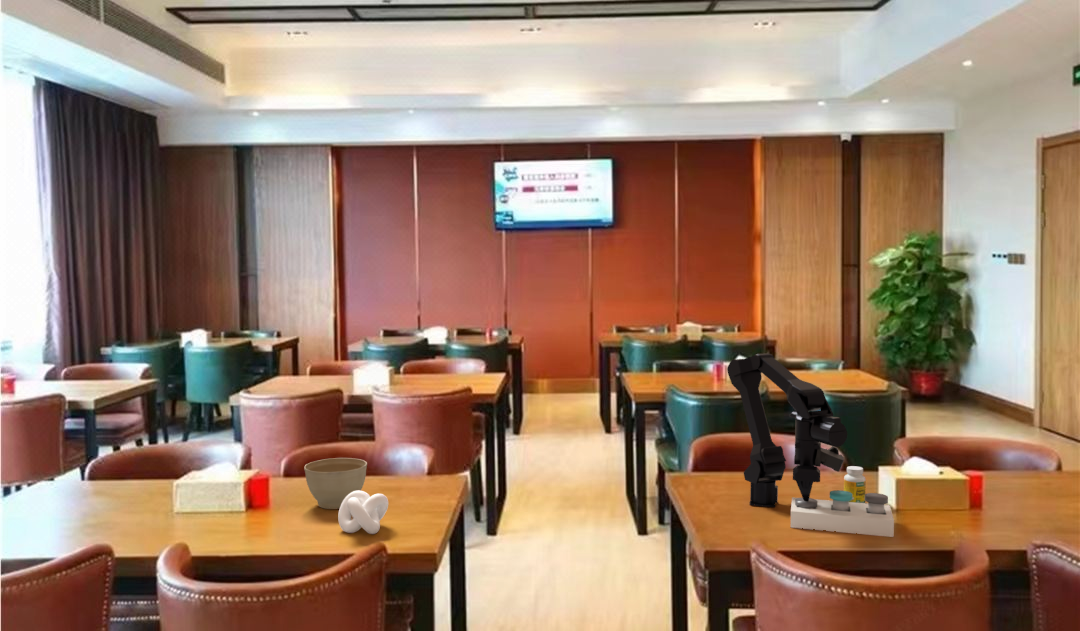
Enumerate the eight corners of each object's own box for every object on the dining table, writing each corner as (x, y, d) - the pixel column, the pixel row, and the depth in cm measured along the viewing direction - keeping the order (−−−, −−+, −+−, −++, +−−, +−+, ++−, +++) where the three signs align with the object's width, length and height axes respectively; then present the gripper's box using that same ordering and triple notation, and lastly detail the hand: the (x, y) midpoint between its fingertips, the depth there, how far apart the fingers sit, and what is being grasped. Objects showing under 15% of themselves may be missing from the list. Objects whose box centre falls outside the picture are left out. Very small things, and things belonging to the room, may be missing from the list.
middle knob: (829, 514, 201) (829, 495, 201) (829, 508, 206) (829, 489, 206) (852, 516, 200) (852, 497, 199) (851, 510, 205) (851, 491, 204)
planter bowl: (379, 503, 223) (379, 463, 222) (327, 518, 211) (326, 475, 210) (345, 492, 233) (344, 454, 233) (293, 505, 222) (292, 465, 221)
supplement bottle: (851, 499, 224) (852, 464, 223) (869, 504, 219) (870, 468, 219) (839, 502, 221) (839, 467, 220) (856, 507, 216) (857, 471, 216)
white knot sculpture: (389, 537, 196) (389, 500, 195) (337, 541, 194) (336, 503, 193) (388, 522, 207) (387, 487, 206) (338, 525, 205) (337, 490, 204)
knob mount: (790, 527, 201) (790, 511, 201) (791, 512, 213) (792, 497, 212) (893, 536, 194) (893, 520, 194) (889, 521, 205) (889, 505, 205)
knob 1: (794, 521, 204) (795, 502, 204) (795, 515, 209) (795, 496, 209) (817, 523, 203) (817, 504, 202) (817, 516, 207) (817, 498, 207)
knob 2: (864, 517, 199) (865, 498, 199) (863, 511, 204) (864, 492, 204) (888, 519, 197) (888, 500, 197) (886, 513, 202) (887, 494, 202)
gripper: (843, 449, 193) (842, 515, 194) (841, 432, 211) (839, 493, 212) (793, 445, 196) (792, 510, 198) (795, 429, 214) (794, 489, 215)
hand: (806, 500), depth 205 cm, fingers closed, pressing on knob 1
